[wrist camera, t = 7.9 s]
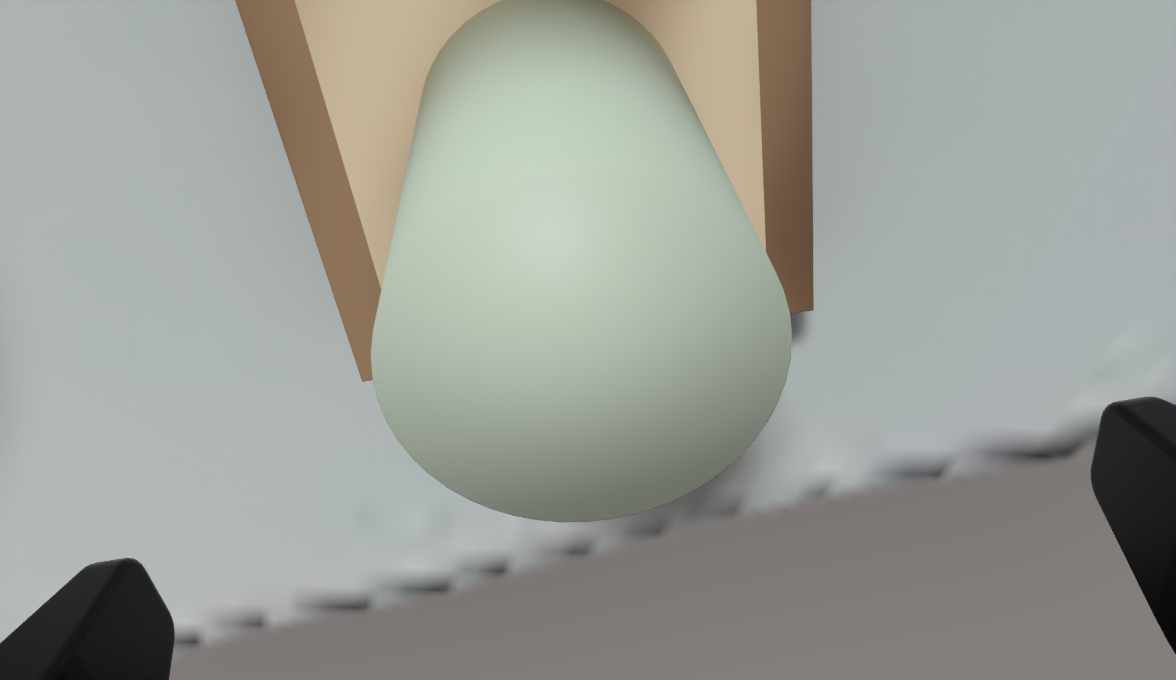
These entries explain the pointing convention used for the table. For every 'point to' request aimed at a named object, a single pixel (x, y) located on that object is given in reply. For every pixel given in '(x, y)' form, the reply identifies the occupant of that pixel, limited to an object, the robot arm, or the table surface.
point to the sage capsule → (572, 275)
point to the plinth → (393, 93)
